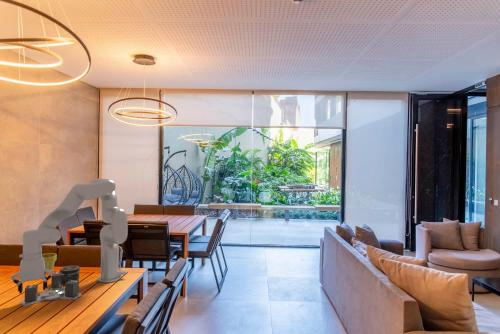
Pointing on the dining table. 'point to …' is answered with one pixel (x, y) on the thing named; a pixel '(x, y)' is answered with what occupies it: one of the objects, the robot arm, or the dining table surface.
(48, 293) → the tribrach base
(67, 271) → the jar
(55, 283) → the knob
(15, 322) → the dining table surface
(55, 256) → the plant pot
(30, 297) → the knob
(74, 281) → the knob
